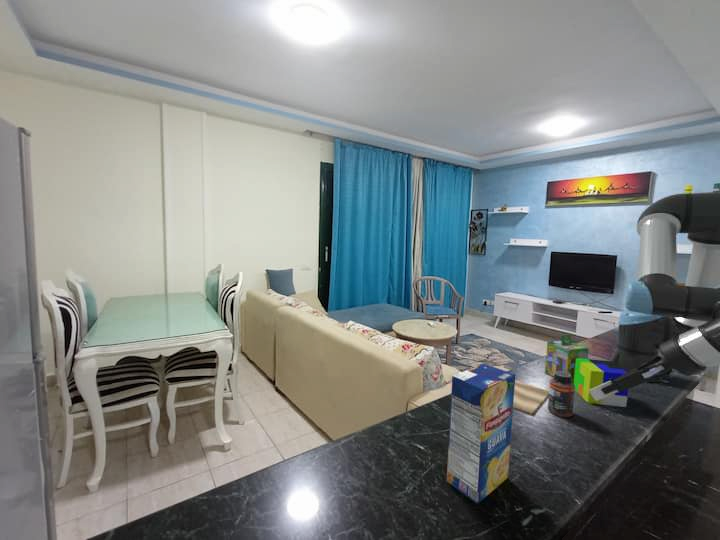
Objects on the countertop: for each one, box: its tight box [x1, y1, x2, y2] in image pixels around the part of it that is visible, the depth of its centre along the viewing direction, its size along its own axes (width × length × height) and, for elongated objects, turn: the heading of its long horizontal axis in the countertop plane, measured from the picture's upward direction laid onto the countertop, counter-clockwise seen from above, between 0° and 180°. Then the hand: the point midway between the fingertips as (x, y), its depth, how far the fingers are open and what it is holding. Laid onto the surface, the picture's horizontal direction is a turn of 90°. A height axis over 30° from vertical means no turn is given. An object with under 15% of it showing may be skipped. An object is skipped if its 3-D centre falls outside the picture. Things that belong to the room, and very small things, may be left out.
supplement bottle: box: [547, 371, 576, 418], centre depth 91 cm, size 6×6×11 cm
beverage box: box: [446, 363, 516, 505], centre depth 65 cm, size 7×11×22 cm, turn 128°
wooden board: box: [513, 379, 549, 416], centre depth 101 cm, size 18×12×1 cm, turn 136°
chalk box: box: [544, 333, 589, 383], centre depth 115 cm, size 9×9×15 cm
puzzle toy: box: [573, 358, 629, 408], centre depth 101 cm, size 10×10×10 cm
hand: (593, 395), depth 85 cm, fingers closed
